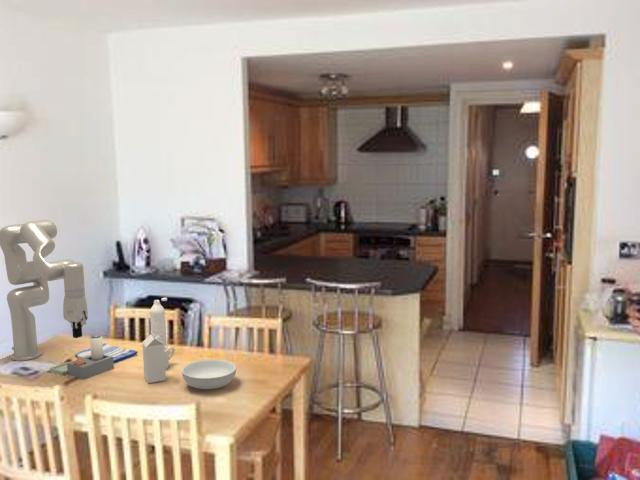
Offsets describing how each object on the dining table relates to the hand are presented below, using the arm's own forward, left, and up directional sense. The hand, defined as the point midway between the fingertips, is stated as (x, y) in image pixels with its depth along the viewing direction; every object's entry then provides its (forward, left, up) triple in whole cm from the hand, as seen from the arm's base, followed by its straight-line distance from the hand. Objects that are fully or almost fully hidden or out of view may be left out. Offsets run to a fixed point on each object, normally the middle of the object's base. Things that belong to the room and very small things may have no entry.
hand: (77, 336), depth 244 cm
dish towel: (-11, +21, -17) cm, 30 cm away
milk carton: (+30, +12, -17) cm, 37 cm away
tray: (-10, 0, -16) cm, 19 cm away
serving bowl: (+53, +19, -17) cm, 59 cm away
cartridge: (0, +8, -14) cm, 17 cm away
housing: (0, +5, -16) cm, 17 cm away
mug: (+21, +23, -17) cm, 36 cm away
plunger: (0, 0, -13) cm, 14 cm away
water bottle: (+8, +36, -17) cm, 41 cm away
